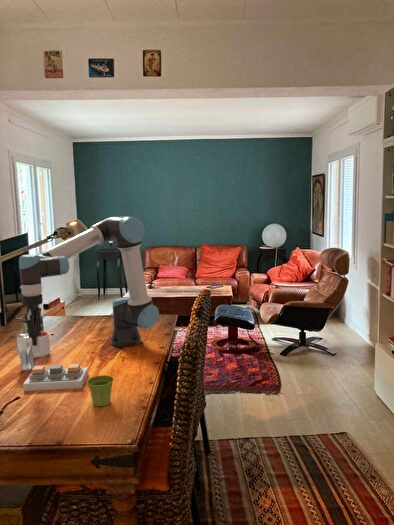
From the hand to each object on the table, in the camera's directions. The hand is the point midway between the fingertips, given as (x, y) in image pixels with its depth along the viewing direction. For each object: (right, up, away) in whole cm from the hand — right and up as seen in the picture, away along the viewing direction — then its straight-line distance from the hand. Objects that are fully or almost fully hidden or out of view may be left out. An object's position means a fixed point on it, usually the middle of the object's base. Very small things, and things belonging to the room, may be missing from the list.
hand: (36, 352), depth 177 cm
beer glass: (-10, -11, +18) cm, 24 cm away
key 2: (+14, -7, +2) cm, 16 cm away
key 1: (0, -8, +1) cm, 8 cm away
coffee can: (-19, -7, +51) cm, 55 cm away
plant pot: (+30, -15, -17) cm, 37 cm away
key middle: (+7, -8, +2) cm, 11 cm away
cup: (-11, -9, +35) cm, 38 cm away
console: (+8, -12, +2) cm, 15 cm away
